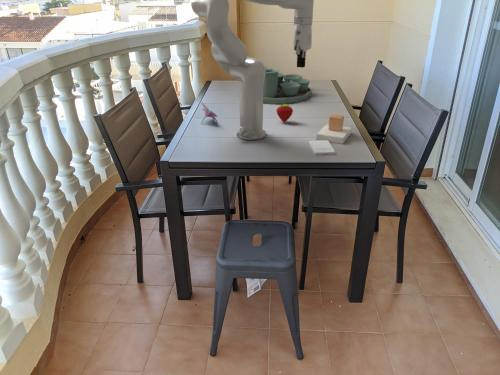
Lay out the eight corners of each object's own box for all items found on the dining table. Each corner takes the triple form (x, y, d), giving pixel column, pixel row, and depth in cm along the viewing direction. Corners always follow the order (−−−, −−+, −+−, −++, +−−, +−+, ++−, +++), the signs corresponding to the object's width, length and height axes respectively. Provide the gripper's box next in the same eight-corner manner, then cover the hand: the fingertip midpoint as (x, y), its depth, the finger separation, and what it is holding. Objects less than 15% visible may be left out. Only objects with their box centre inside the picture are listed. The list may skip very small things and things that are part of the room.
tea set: (320, 102, 216) (322, 71, 209) (246, 106, 210) (246, 74, 203) (299, 85, 251) (300, 57, 243) (235, 88, 245) (235, 60, 237)
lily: (216, 130, 181) (224, 109, 180) (192, 120, 179) (199, 100, 178) (215, 129, 193) (222, 110, 192) (191, 120, 190) (198, 101, 189)
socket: (342, 143, 162) (343, 137, 161) (316, 139, 167) (316, 133, 165) (351, 133, 173) (351, 127, 172) (326, 129, 178) (327, 123, 176)
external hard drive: (328, 143, 164) (335, 155, 153) (308, 144, 164) (314, 156, 153) (328, 140, 163) (336, 151, 152) (308, 140, 163) (314, 152, 152)
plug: (339, 137, 168) (341, 118, 165) (327, 135, 170) (329, 116, 167) (342, 134, 172) (344, 115, 168) (330, 132, 174) (332, 114, 170)
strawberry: (292, 124, 184) (293, 103, 179) (275, 123, 185) (276, 102, 180) (292, 120, 189) (293, 99, 184) (276, 119, 190) (277, 98, 185)
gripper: (305, 23, 158) (303, 71, 167) (317, 20, 170) (314, 64, 179) (287, 22, 161) (286, 69, 170) (300, 19, 173) (298, 63, 182)
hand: (300, 66), depth 174 cm, fingers closed
